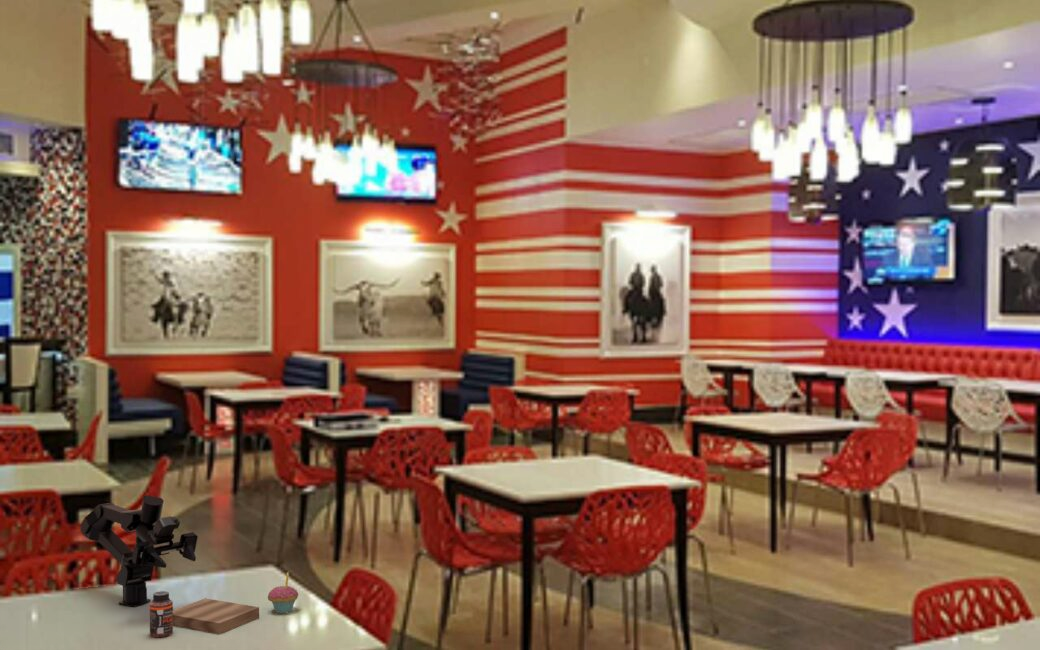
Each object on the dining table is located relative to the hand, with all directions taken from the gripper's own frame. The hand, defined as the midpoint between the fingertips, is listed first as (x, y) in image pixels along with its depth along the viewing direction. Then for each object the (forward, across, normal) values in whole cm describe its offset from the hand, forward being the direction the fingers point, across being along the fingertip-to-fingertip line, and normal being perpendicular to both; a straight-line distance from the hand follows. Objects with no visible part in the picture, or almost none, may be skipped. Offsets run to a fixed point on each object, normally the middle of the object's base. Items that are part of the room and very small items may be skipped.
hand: (180, 562), depth 301 cm
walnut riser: (+12, +5, +13) cm, 19 cm away
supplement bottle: (+12, -10, +13) cm, 21 cm away
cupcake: (+19, +24, +10) cm, 32 cm away
